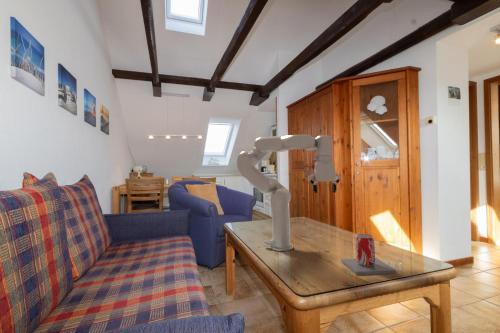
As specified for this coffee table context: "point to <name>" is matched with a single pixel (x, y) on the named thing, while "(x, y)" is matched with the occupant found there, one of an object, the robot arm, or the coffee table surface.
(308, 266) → the coffee table surface
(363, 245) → the soda can
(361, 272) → the slate board
